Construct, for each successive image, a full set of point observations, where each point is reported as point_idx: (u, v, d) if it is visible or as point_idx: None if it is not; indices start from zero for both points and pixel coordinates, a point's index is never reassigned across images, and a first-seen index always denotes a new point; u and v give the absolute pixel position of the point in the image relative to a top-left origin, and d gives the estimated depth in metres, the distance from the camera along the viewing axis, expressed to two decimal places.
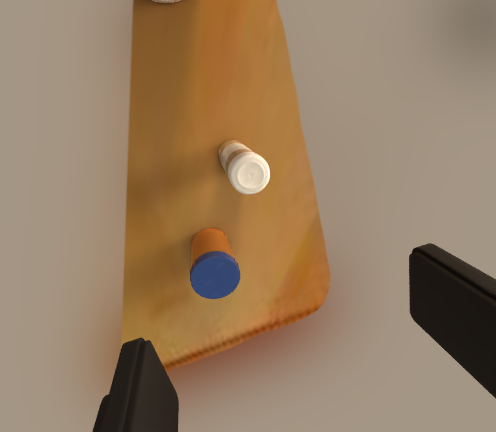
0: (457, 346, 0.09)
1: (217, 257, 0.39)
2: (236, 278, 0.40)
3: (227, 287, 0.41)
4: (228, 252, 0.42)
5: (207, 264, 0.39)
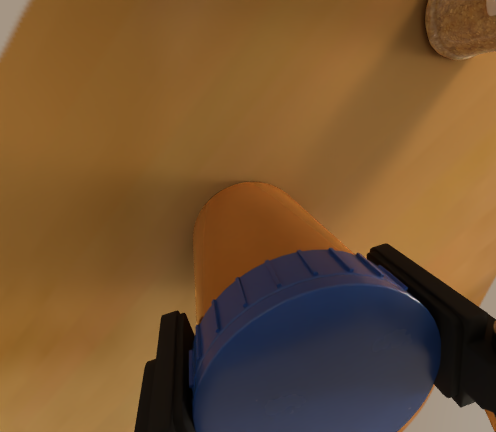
0: None
1: (408, 299, 0.07)
2: (395, 421, 0.08)
3: None
4: None
5: (344, 314, 0.07)
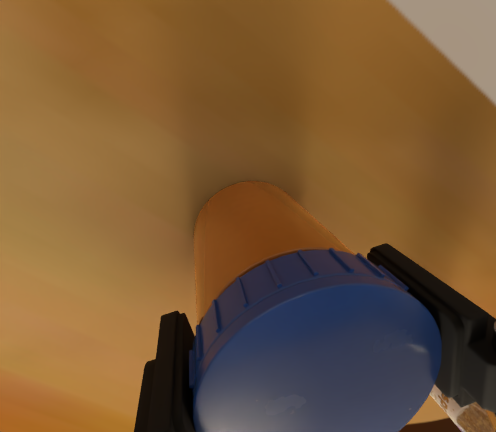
0: None
1: (409, 300, 0.07)
2: (395, 422, 0.08)
3: None
4: None
5: (345, 315, 0.07)
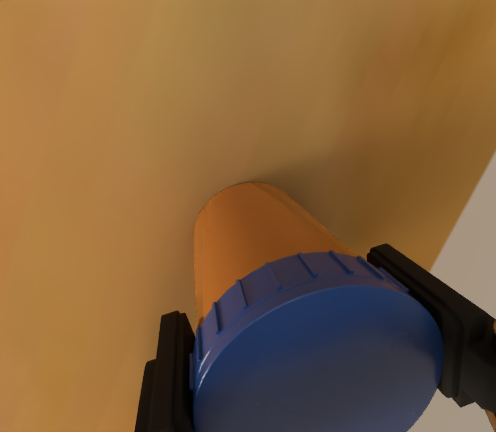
0: None
1: (409, 302, 0.07)
2: (398, 427, 0.08)
3: None
4: None
5: (345, 316, 0.07)
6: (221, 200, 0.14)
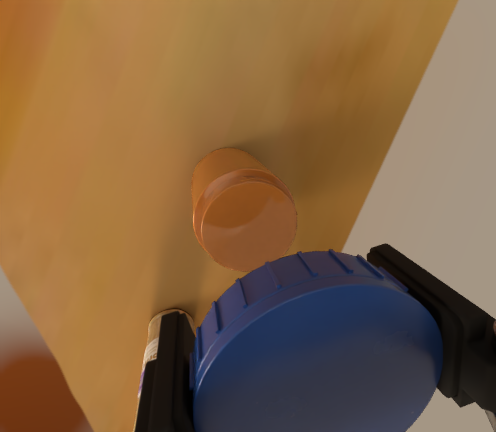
0: None
1: (409, 301, 0.07)
2: (398, 426, 0.08)
3: None
4: None
5: (345, 315, 0.07)
6: (209, 156, 0.22)
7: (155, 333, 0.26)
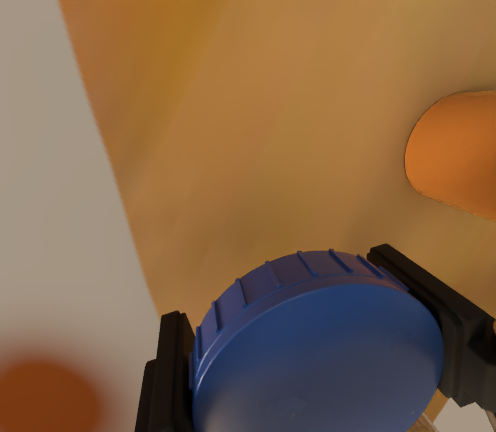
0: None
1: (409, 300, 0.07)
2: (398, 426, 0.08)
3: None
4: None
5: (345, 315, 0.07)
6: (458, 100, 0.15)
7: None
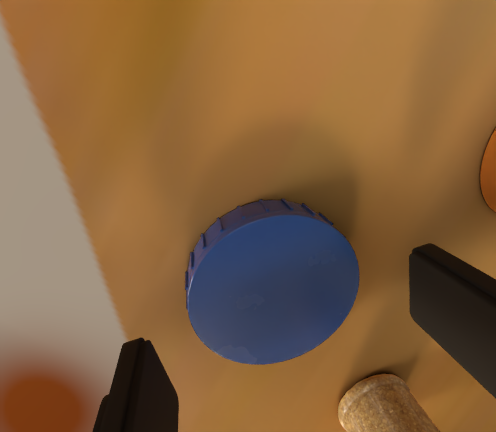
0: (457, 346, 0.09)
1: (330, 228, 0.10)
2: (331, 323, 0.12)
3: (290, 340, 0.12)
4: None
5: (286, 236, 0.10)
6: None
7: (386, 429, 0.14)
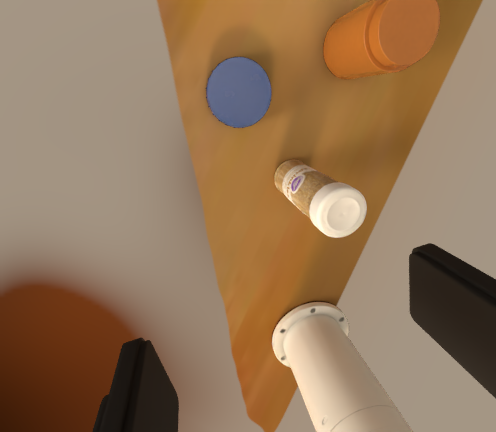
0: (457, 346, 0.09)
1: (257, 64, 0.29)
2: (261, 110, 0.31)
3: (246, 116, 0.31)
4: (363, 57, 0.26)
5: (241, 66, 0.29)
6: (345, 14, 0.30)
7: (289, 167, 0.33)
